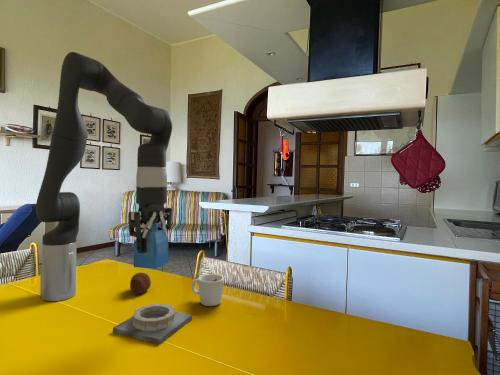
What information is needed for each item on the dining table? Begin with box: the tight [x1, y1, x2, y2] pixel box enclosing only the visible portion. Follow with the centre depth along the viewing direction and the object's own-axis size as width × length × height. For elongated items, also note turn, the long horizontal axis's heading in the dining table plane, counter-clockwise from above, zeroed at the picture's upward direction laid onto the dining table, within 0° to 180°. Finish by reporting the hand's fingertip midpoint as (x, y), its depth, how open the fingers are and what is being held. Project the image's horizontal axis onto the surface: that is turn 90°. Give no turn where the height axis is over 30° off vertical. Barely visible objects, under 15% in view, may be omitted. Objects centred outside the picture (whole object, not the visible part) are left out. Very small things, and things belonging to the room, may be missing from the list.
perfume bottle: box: [133, 218, 169, 270], centre depth 80 cm, size 6×6×12 cm
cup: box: [191, 273, 225, 307], centre depth 97 cm, size 11×8×8 cm
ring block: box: [112, 303, 193, 345], centre depth 81 cm, size 14×14×4 cm
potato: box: [129, 272, 152, 295], centre depth 105 cm, size 7×9×6 cm
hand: (151, 249), depth 80 cm, fingers closed on perfume bottle, 6 cm apart
